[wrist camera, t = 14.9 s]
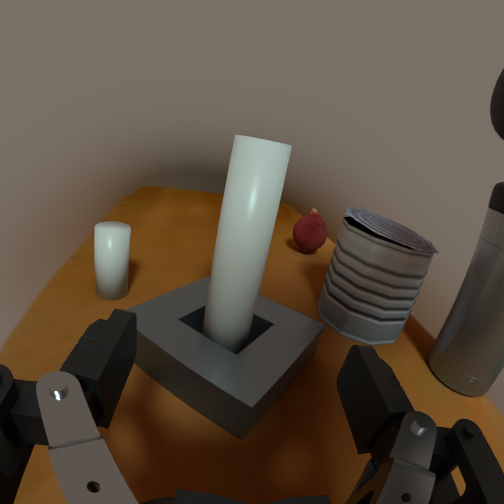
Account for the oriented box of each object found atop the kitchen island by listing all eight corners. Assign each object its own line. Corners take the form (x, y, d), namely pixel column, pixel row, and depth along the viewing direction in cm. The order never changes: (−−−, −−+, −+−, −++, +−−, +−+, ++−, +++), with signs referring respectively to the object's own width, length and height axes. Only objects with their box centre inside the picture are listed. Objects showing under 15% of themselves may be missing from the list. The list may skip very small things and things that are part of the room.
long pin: (217, 337, 27) (254, 138, 21) (250, 357, 25) (300, 148, 19) (190, 355, 24) (223, 132, 18) (225, 378, 22) (275, 141, 16)
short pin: (115, 279, 32) (117, 219, 30) (134, 293, 30) (137, 229, 28) (89, 288, 29) (88, 224, 27) (107, 303, 27) (107, 236, 25)
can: (356, 291, 42) (382, 211, 38) (416, 332, 33) (453, 243, 29) (296, 300, 36) (323, 203, 32) (363, 357, 27) (409, 242, 23)
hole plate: (210, 303, 32) (214, 273, 31) (313, 355, 27) (325, 324, 25) (118, 349, 22) (116, 313, 21) (241, 439, 17) (252, 407, 15)
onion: (319, 251, 56) (330, 210, 53) (321, 262, 51) (334, 217, 48) (288, 244, 56) (298, 202, 54) (288, 254, 51) (299, 208, 48)
